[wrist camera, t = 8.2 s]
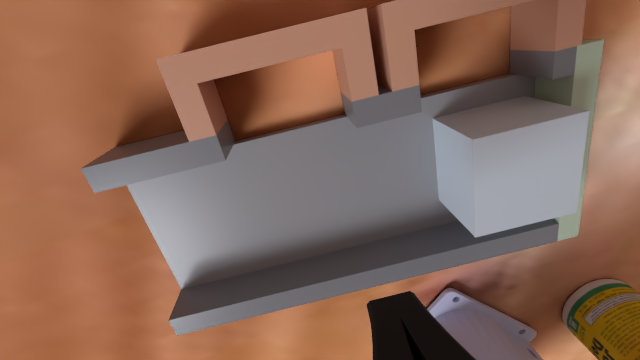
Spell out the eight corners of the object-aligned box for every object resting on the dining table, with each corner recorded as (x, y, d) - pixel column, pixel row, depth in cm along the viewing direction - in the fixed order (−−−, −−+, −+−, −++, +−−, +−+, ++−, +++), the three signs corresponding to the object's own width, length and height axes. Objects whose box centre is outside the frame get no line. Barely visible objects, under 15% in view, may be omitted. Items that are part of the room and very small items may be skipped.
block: (524, 95, 17) (589, 110, 13) (520, 179, 19) (576, 212, 15) (432, 118, 17) (472, 139, 13) (439, 199, 19) (475, 237, 15)
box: (191, 296, 21) (177, 335, 18) (79, 80, 15) (34, 89, 12) (539, 210, 21) (578, 236, 18) (556, -38, 15) (616, -55, 12)
